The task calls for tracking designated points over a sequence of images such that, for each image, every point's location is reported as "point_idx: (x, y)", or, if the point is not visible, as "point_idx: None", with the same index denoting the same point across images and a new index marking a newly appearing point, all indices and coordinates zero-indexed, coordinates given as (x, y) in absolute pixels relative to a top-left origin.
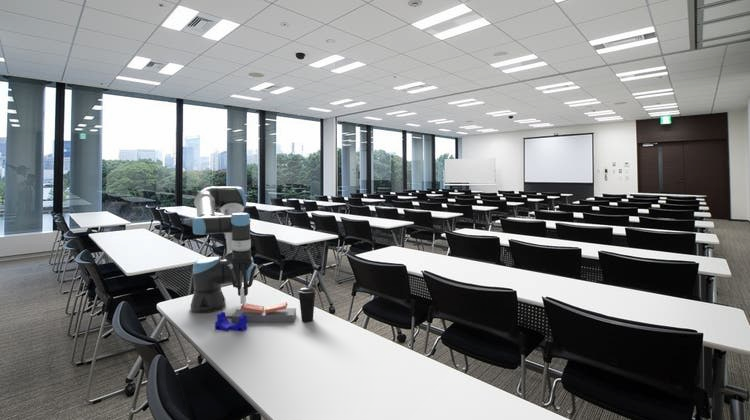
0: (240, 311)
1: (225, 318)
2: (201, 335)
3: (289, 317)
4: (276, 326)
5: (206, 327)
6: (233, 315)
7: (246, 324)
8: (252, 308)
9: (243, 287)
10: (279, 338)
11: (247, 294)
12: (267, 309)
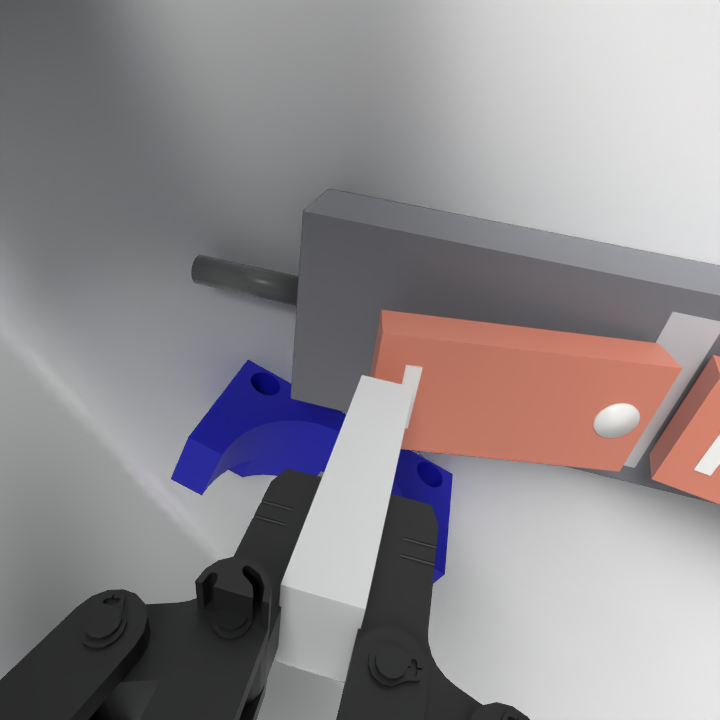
0: (361, 296)
1: (255, 436)
2: (172, 467)
3: None
4: (700, 515)
5: (146, 367)
6: (308, 381)
7: (446, 507)
8: (506, 456)
9: (322, 615)
10: (661, 649)
11: (430, 512)
12: (694, 489)
